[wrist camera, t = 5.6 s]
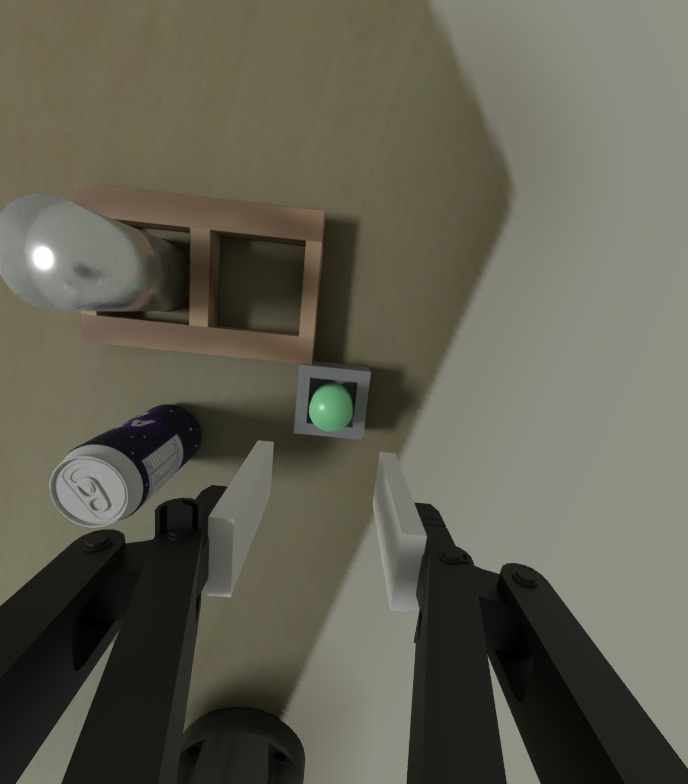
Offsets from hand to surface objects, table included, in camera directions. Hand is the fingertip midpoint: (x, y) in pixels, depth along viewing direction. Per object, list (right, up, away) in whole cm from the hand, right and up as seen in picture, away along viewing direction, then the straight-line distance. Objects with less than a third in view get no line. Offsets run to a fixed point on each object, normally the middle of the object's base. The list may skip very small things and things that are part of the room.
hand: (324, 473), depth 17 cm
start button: (0, +3, +14) cm, 14 cm away
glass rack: (-11, +13, +14) cm, 22 cm away
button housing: (0, +4, +16) cm, 17 cm away
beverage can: (-15, 0, +17) cm, 23 cm away
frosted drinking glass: (-15, +14, +14) cm, 25 cm away
